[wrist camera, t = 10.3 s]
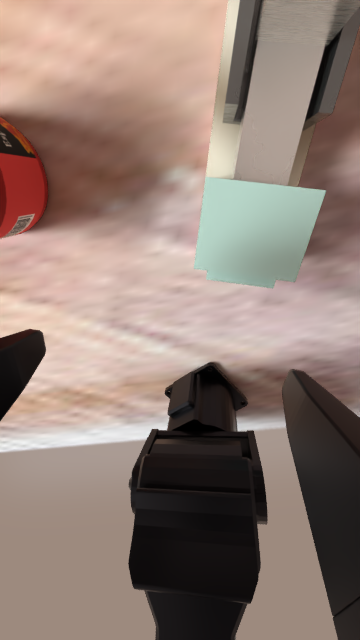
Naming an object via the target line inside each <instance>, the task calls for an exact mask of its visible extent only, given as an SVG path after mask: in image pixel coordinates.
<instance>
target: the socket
mask: <svg viewBox="0 0 360 640" xmlns="http://www.w3.org/2000/svg"><path fill="white" fill-rule="evenodd" d="M325 193H326V190H319V189H310V188H301V187H292V186H283V185H274V184H265V183H256V182H247V181H238V180H229V179H221V178H212V177H206V179H205V186H204V194H203V202H202V210H201V217H200V225H199V233H198V240H197V248H196V256H195V264H194V269H200V270H207V277H206V279H207V280H214V281H222V282H229V283H236V284H244V285H251V286H259V287H266V288H274V284H275V281H276V280H282V281H290V282H295V281H296V278H297V275H298V272H299V269H300V266H301V263H302V260H303V257H304V254H305V251H306V249H307V246H308V243H309V240H310V237H311V234H312V231H313V228H314V225H315V222H316V219H317V216H318V213H319V210H320V207H321V204H322V202H323V199H324V196H325Z"/></svg>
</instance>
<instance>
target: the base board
mask: <svg viewBox="0 0 360 640" xmlns="http://www.w3.org/2000/svg"><path fill="white" fill-rule="evenodd" d="M239 3H240V0H228V7H227V14H226V22H225V30H224V38H223V45H222V53H221V61H220V69H219V76H218V84H217V92H216V100H215V107H214V115H213V123H212V131H211V138H210V146H209V154H208V161H207V169H206V177H212V178H221V179H229V180H231V175H232V169H233V163H234V157H235V151H236V146H237V140H238V134H239V128H240V125H238V124H228V123H223V115H224V107H225V100H226V93H227V86H228V79H229V72H230V65H231V58H232V51H233V44H234V37H235V30H236V24H237V17H238V10H239ZM315 125H316V124H314V125H312V126H311V127H309V128H307V129H306V130H304V131H302V133H301V136H300V140H299V144H298V147H297V151H296V155H295V158H294V162H293V166H292V170H291V173H290V177H289V181H288V184H287V186H292V187H298V184H299V181H300V177H301V174H302V170H303V167H304V163H305V160H306V157H307V153H308V150H309V146H310V143H311V139H312V136H313V132H314V129H315ZM206 177H205V179H206ZM204 186H205V185H204ZM203 194H204V192H203ZM202 202H203V200H202ZM201 210H202V208H201ZM200 217H201V216H200ZM199 225H200V223H199ZM198 233H199V231H198ZM197 240H198V239H197ZM196 248H197V247H196ZM195 256H196V254H195Z"/></svg>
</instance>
